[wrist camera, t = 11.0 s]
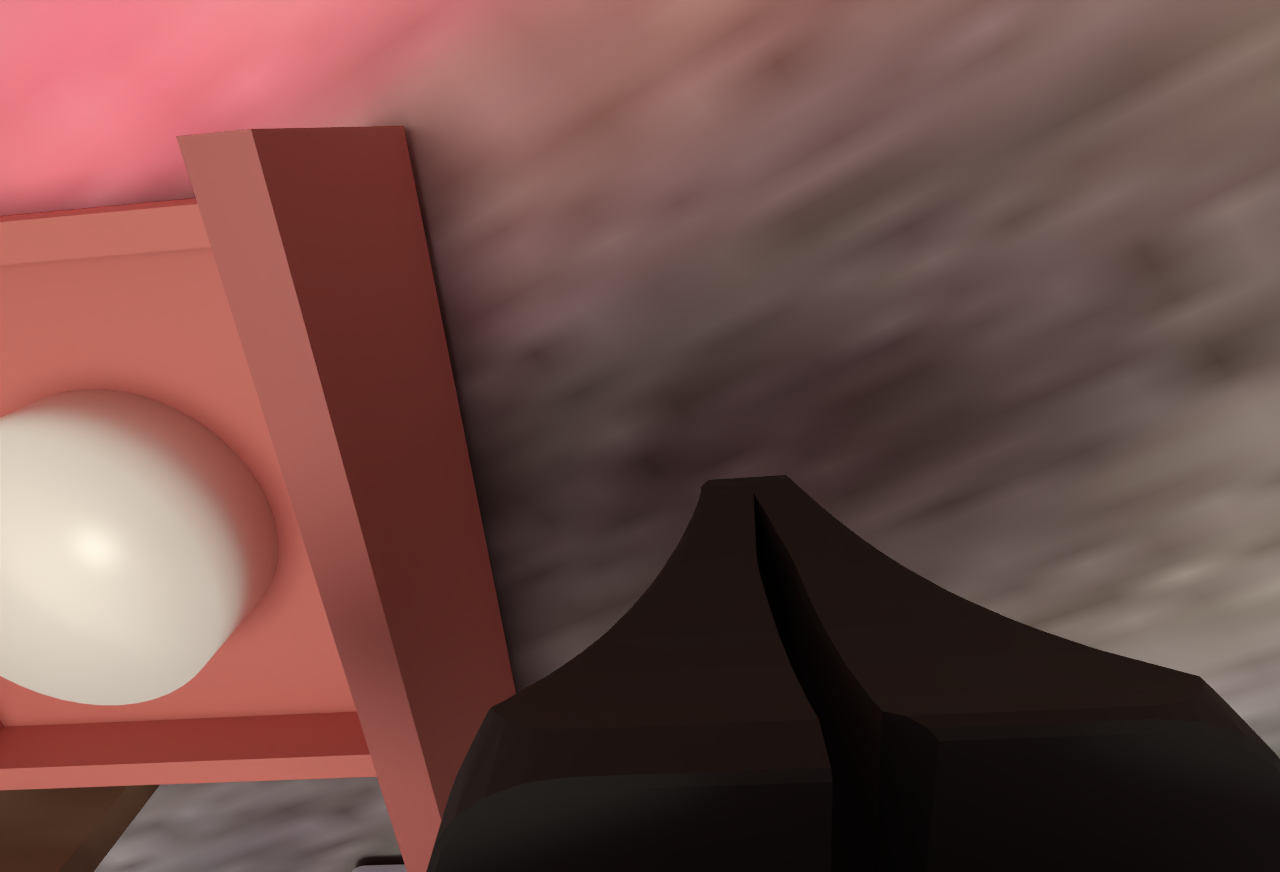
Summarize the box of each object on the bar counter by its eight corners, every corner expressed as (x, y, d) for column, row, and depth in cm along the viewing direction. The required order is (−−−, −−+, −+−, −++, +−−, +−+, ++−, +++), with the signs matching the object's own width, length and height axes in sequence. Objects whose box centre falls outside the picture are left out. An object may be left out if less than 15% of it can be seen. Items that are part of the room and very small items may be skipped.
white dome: (62, 641, 15) (-20, 712, 13) (-60, 401, 13) (-178, 446, 11) (311, 626, 15) (261, 697, 13) (227, 376, 13) (153, 419, 11)
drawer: (522, 726, 17) (472, 934, 12) (33, 746, 18) (-173, 948, 13) (403, 126, 12) (251, 129, 7) (-275, 191, 13) (-769, 229, 8)
